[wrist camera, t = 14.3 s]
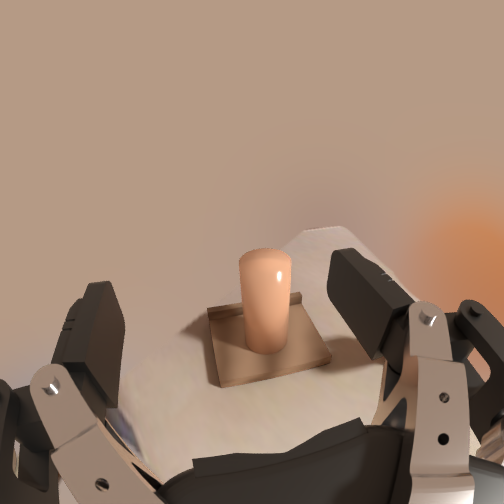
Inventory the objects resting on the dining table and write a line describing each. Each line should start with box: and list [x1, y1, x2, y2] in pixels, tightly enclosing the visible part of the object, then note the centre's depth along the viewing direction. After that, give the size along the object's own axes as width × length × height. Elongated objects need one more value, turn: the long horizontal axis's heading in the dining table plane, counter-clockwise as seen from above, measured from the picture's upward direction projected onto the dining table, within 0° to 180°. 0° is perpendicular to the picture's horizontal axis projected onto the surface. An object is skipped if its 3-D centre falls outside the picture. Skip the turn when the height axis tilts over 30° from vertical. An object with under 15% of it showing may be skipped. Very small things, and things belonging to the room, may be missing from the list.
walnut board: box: [207, 292, 332, 388], centre depth 36 cm, size 14×12×3 cm
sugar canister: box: [239, 248, 291, 355], centre depth 32 cm, size 6×6×12 cm
